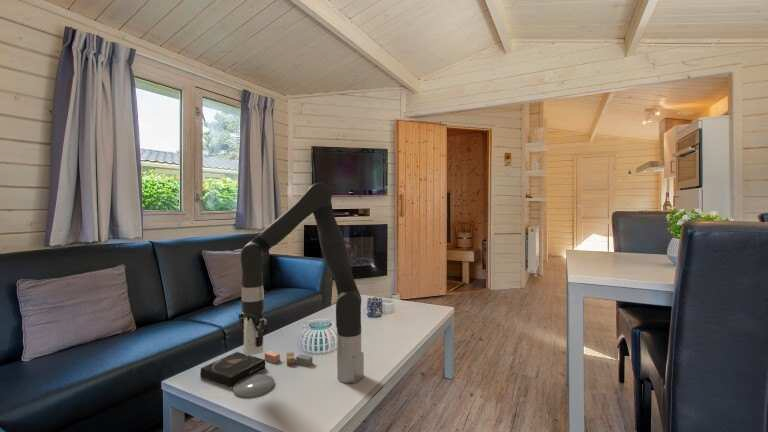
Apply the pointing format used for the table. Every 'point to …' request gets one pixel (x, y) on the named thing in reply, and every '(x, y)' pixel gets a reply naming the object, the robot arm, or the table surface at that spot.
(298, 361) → the gray brick
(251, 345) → the skincare box
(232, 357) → the portable cd player
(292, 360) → the tan brick
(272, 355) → the terracotta brick
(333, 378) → the table surface
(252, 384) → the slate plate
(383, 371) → the table surface
